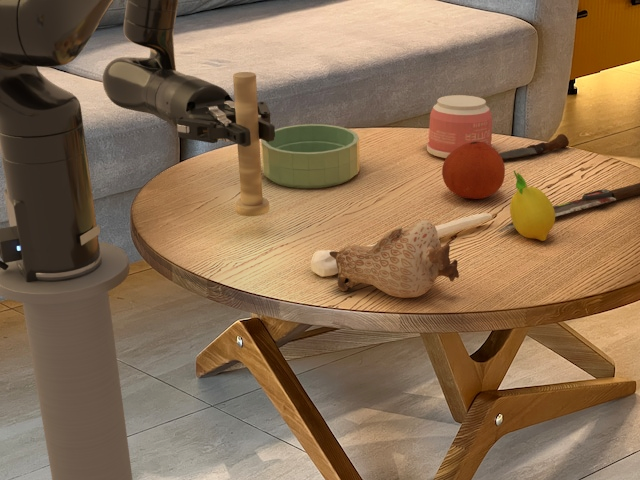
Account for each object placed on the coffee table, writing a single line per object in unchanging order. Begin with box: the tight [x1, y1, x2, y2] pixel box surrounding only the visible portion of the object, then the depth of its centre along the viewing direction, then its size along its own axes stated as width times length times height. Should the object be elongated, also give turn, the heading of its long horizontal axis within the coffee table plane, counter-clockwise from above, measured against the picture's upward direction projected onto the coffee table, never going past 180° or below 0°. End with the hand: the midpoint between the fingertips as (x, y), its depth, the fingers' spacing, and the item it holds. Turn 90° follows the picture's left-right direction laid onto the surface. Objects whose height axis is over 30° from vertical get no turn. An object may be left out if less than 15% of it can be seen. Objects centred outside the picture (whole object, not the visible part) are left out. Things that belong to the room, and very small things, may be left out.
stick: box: [232, 71, 270, 218], centre depth 139 cm, size 4×4×18 cm
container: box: [426, 94, 494, 159], centre depth 172 cm, size 10×10×8 cm
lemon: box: [509, 170, 556, 242], centre depth 141 cm, size 7×6×10 cm
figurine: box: [330, 219, 460, 299], centre depth 127 cm, size 9×10×15 cm
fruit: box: [441, 141, 506, 200], centre depth 154 cm, size 9×9×8 cm
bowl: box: [260, 123, 361, 189], centre depth 164 cm, size 14×14×6 cm
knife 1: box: [498, 133, 570, 160], centre depth 172 cm, size 17×2×5 cm
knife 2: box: [495, 182, 640, 234], centre depth 150 cm, size 3×2×30 cm
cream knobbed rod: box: [310, 212, 493, 278], centre depth 139 cm, size 28×4×3 cm, turn 128°
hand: (259, 136), depth 136 cm, fingers closed on stick, 2 cm apart
